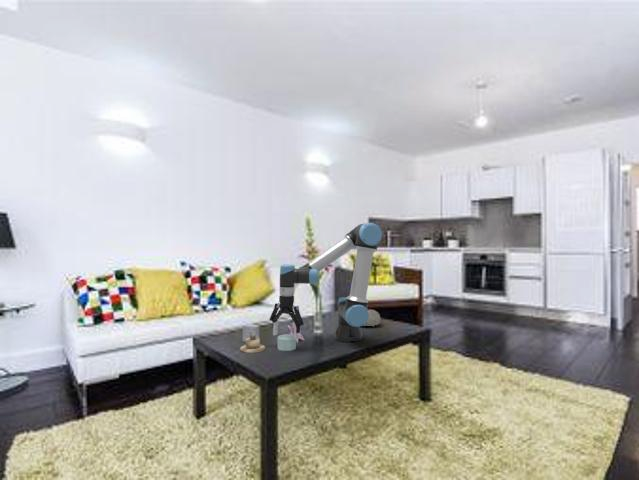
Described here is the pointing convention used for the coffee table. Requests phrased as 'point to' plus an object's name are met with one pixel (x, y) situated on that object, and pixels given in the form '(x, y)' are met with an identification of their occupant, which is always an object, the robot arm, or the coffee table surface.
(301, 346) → the coffee table surface
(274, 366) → the coffee table surface
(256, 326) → the medicine box
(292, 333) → the lily
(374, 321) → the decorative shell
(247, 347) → the stud pedestal
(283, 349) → the cap
